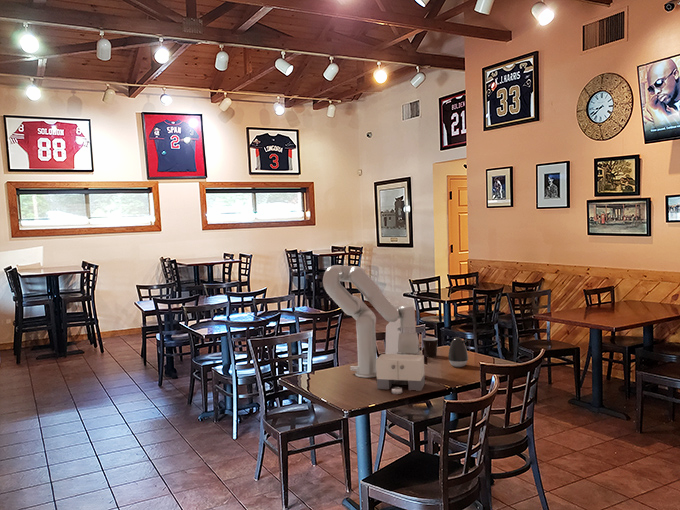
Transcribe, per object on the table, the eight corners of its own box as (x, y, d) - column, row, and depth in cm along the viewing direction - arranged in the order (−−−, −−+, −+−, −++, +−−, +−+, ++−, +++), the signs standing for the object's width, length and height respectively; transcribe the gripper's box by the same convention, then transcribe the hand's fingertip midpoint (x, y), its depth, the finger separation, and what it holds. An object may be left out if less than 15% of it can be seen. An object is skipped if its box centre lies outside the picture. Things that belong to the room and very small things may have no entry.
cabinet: (376, 389, 242) (375, 360, 242) (382, 381, 255) (381, 353, 254) (420, 391, 236) (419, 361, 236) (424, 383, 249) (423, 355, 248)
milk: (389, 354, 315) (388, 310, 314) (409, 355, 311) (407, 310, 310) (385, 359, 303) (383, 313, 302) (405, 359, 300) (403, 313, 299)
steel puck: (391, 394, 234) (391, 390, 234) (392, 391, 239) (391, 386, 239) (402, 394, 233) (402, 390, 233) (402, 391, 238) (402, 386, 238)
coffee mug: (428, 354, 312) (427, 337, 312) (441, 355, 306) (440, 338, 306) (417, 357, 303) (417, 340, 303) (431, 359, 297) (430, 341, 297)
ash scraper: (394, 384, 249) (393, 363, 248) (405, 370, 271) (404, 351, 271) (407, 384, 247) (406, 363, 246) (417, 370, 269) (416, 351, 269)
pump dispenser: (465, 369, 273) (464, 339, 273) (445, 367, 279) (444, 338, 278) (471, 364, 282) (470, 336, 281) (452, 363, 287) (451, 335, 287)
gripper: (390, 331, 265) (392, 368, 266) (422, 331, 260) (423, 369, 260) (394, 328, 272) (395, 364, 273) (424, 329, 267) (426, 365, 267)
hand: (409, 366), depth 266 cm, fingers closed on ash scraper, 1 cm apart
